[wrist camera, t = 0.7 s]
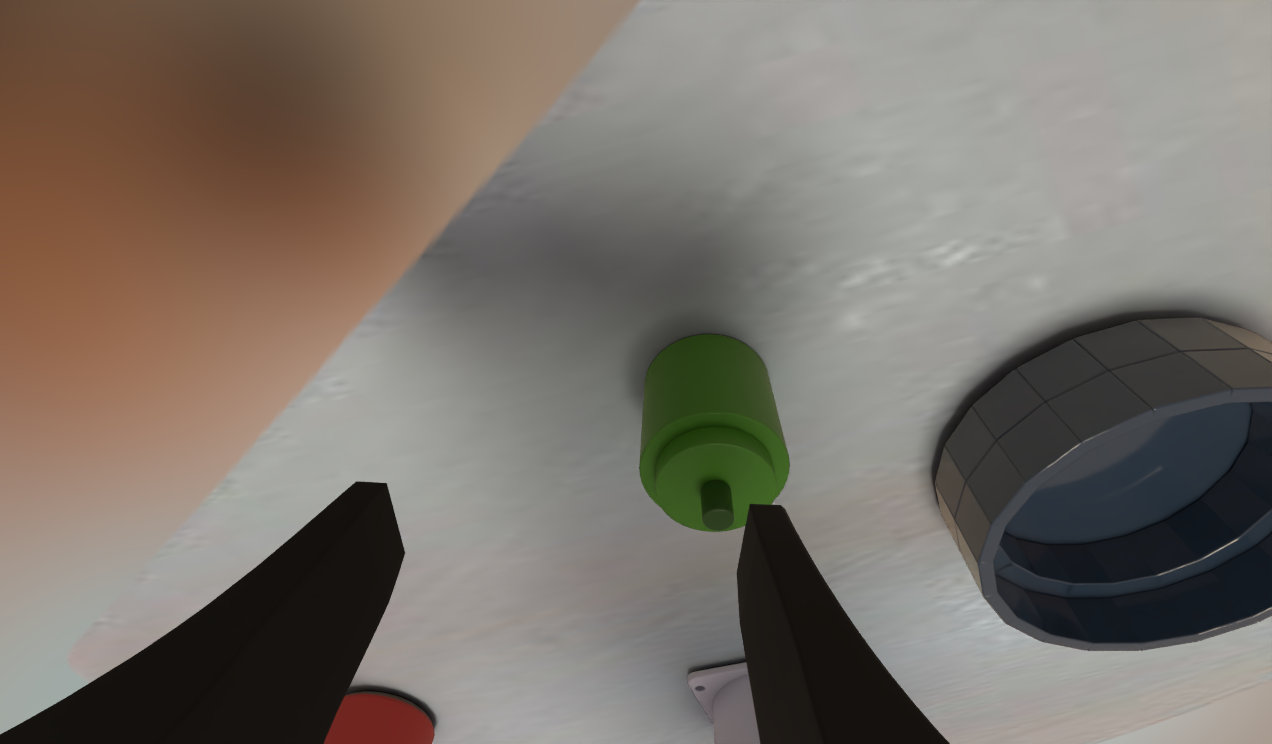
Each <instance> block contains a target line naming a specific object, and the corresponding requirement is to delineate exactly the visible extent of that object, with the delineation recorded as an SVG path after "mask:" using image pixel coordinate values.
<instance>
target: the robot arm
mask: <svg viewBox="0 0 1272 744" xmlns="http://www.w3.org/2000/svg"><path fill="white" fill-rule="evenodd" d="M404 555H405V551H404V547H403V543H402V540H401V536H400V532H399V528H398V524H397V521H396V517H395V513H394V509H393V505H392V502H391V498H390V494H389V490H388V487H387V483H374V482H355V483H354V484H353V485H352V486H351V487H349V488H348V489H347V490H346V491H345V492H344V493H342V494H341V495H340V496H339V497H338V498H337V499H335V500H334V501H333V502H332V503H331V504H330V505H328V506H327V507H326V508H325V509H324V510H323V511H322V512H320V513H319V514H318V515H317V516H316V517H315V518H313V519H312V520H311V521H310V522H309V523H308V524H307V525H305V526H304V527H303V528H302V529H301V530H300V531H298V532H297V533H296V534H295V535H294V536H293V537H291V538H290V539H289V540H288V541H287V542H286V543H284V544H283V545H282V546H281V547H280V548H278V549H277V550H276V551H275V552H274V553H272V554H271V555H270V556H269V557H268V558H266V559H265V560H264V561H263V562H262V563H261V564H259V565H258V566H257V567H256V568H254V569H253V570H252V571H250V572H249V573H248V574H247V575H245V576H244V577H243V578H241V579H240V580H239V581H238V582H236V583H235V584H234V585H232V586H231V587H230V588H229V589H227V590H226V591H225V592H224V593H222V594H221V595H220V596H218V597H217V598H216V599H215V600H213V601H212V602H211V603H209V604H208V605H207V606H205V607H204V608H203V609H201V610H200V611H199V612H197V613H196V614H194V615H193V616H192V617H190V618H189V619H187V620H186V621H185V622H183V623H182V624H180V625H179V626H178V627H176V628H175V629H173V630H172V631H170V632H169V633H167V634H166V635H164V636H163V637H161V638H160V639H158V640H157V641H156V642H154V643H153V644H151V645H150V646H148V647H147V648H145V649H144V650H142V651H141V652H139V653H138V654H136V655H135V656H133V657H131V658H130V659H128V660H127V661H125V662H123V663H122V664H120V665H118V666H117V667H115V668H114V669H112V670H110V671H109V672H107V673H105V674H104V675H102V676H101V677H99V678H97V679H96V680H94V681H92V682H91V683H89V684H88V685H86V686H84V687H83V688H81V689H79V690H78V691H76V692H75V693H73V694H72V695H70V696H68V697H66V698H65V699H63V700H61V701H60V702H58V703H56V704H54V705H53V706H51V707H49V708H47V709H45V710H44V711H42V712H40V713H38V714H37V715H35V716H33V717H31V718H30V719H28V720H26V721H24V722H23V723H21V724H19V725H17V726H15V727H13V728H11V729H10V730H8V731H6V732H4V733H2V734H0V744H324V742H325V739H326V737H327V734H328V732H329V730H330V727H331V725H332V723H333V720H334V718H335V716H336V713H337V711H338V709H339V707H340V705H341V703H342V701H343V699H344V697H345V694H346V692H347V690H348V688H349V686H350V684H351V682H352V680H353V678H354V676H355V673H356V671H357V669H358V667H359V665H360V663H361V661H362V659H363V657H364V655H365V652H366V650H367V648H368V646H369V644H370V642H371V640H372V638H373V636H374V633H375V631H376V629H377V627H378V625H379V623H380V621H381V618H382V616H383V614H384V612H385V610H386V607H387V605H388V603H389V601H390V598H391V595H392V592H393V589H394V586H395V583H396V580H397V577H398V574H399V571H400V568H401V564H402V561H403V558H404ZM737 584H738V602H739V617H740V627H741V633H742V639H743V645H744V651H745V657H746V662H744V663H739V664H734V665H728V666H723V667H717V668H712V669H707V670H701V671H696V672H692V673H690V674H689V675H688V677H687V681H688V685H689V687H690V688H691V690H692V691H693V693H694V694H695V696H696V698H697V699H698V701H699V702H700V704H701V705H702V707H703V709H704V710H705V712H706V713H707V715H708V716H709V718H710V720H711V721H712V723H713V724H714V735H715V744H950V743H949V742H948V741H947V740H946V739H945V738H944V737H943V736H942V735H941V734H940V733H939V732H938V730H937V729H936V728H935V727H934V726H933V725H932V724H931V722H930V721H929V720H928V719H927V718H926V717H925V715H924V714H923V713H922V712H921V711H920V710H919V708H918V707H917V706H916V705H915V704H914V703H913V701H912V700H911V699H910V698H909V697H908V695H907V694H906V693H905V692H904V690H903V689H902V688H901V687H900V686H899V684H898V683H897V682H896V681H895V679H894V678H893V677H892V676H891V674H890V673H889V672H888V671H887V669H886V668H885V667H884V665H883V664H882V663H881V661H880V660H879V659H878V657H877V656H876V655H875V653H874V652H873V651H872V649H871V648H870V647H869V645H868V644H867V643H866V641H865V640H864V638H863V637H862V636H861V634H860V633H859V631H858V630H857V629H856V627H855V626H854V624H853V623H852V621H851V620H850V618H849V617H848V615H847V614H846V613H845V611H844V610H843V608H842V607H841V605H840V603H839V602H838V600H837V599H836V597H835V596H834V594H833V593H832V591H831V589H830V588H829V586H828V585H827V583H826V582H825V580H824V578H823V577H822V575H821V574H820V572H819V570H818V569H817V567H816V565H815V564H814V562H813V560H812V558H811V557H810V555H809V553H808V551H807V550H806V548H805V546H804V544H803V543H802V541H801V539H800V537H799V535H798V534H797V532H796V530H795V528H794V526H793V524H792V522H791V520H790V518H789V516H788V514H787V512H786V510H785V509H784V508H783V507H782V506H781V505H766V504H749V510H748V515H747V521H746V526H745V531H744V537H743V542H742V548H741V553H740V558H739V564H738V569H737Z"/></svg>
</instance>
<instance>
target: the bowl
mask: <svg viewBox="0 0 1272 744" xmlns="http://www.w3.org/2000/svg"><path fill="white" fill-rule="evenodd" d="M935 486H936V491H937V497H938V502H939V507H940V512H941V515H942V517H943V519H944V521H945V523H946V525H947V527H948V529H949V531H950V533H951V535H952V537H953V539H954V541H955V543H956V545H957V547H958V549H959V550H960V552H961V554H962V556H963V558H964V560H965V562H966V564H967V566H968V568H969V570H970V572H971V574H972V576H973V578H974V580H975V582H976V584H977V586H978V588H979V590H980V592H981V594H982V596H983V597H984V599H985V600H986V601H987V602H988V603H989V605H990V606H991V607H992V608H993V609H994V611H995V612H996V613H997V614H998V616H999V617H1000V618H1001V619H1002V620H1003V622H1004V623H1006V624H1007V625H1009V626H1011V627H1013V628H1015V629H1017V630H1019V631H1021V632H1023V633H1025V634H1027V635H1029V636H1031V637H1033V638H1035V639H1037V640H1039V641H1042V642H1045V643H1050V644H1055V645H1060V646H1065V647H1070V648H1075V649H1080V650H1087V651H1139V650H1141V651H1143V650H1149V649H1155V648H1161V647H1167V646H1173V645H1179V644H1186V643H1192V642H1197V641H1198V640H1199V641H1201V640H1204V639H1207V638H1210V637H1214V636H1217V635H1220V634H1223V633H1226V632H1229V631H1233V630H1236V629H1239V628H1242V627H1245V626H1248V625H1252V624H1255V623H1257V621H1258V622H1260V621H1262V620H1264V619H1266V618H1268V617H1270V616H1272V343H1271V342H1270V341H1268V340H1266V339H1265V338H1263V337H1261V336H1260V335H1258V334H1256V333H1255V332H1252V331H1250V330H1246V329H1242V328H1239V327H1235V326H1231V325H1227V324H1223V323H1219V322H1215V321H1212V320H1208V319H1204V318H1199V317H1192V318H1169V319H1146V320H1137V321H1132V322H1128V323H1125V324H1121V325H1118V326H1114V327H1111V328H1107V329H1103V330H1100V331H1096V332H1093V333H1089V334H1086V335H1082V336H1079V337H1075V338H1074V339H1073V340H1072V339H1071V340H1068V341H1066V342H1065V343H1063V344H1061V345H1059V346H1057V347H1055V348H1053V349H1051V350H1049V351H1047V352H1045V353H1044V354H1042V355H1040V356H1038V357H1036V358H1034V359H1032V360H1030V361H1028V362H1026V363H1025V364H1023V365H1021V366H1019V367H1017V370H1016V369H1014V370H1013V371H1011V372H1010V373H1009V374H1008V375H1007V376H1005V377H1004V378H1003V379H1002V380H1001V381H1000V382H998V383H997V384H996V385H995V386H994V387H993V388H991V389H990V390H989V391H988V392H987V393H985V394H984V395H983V396H982V397H981V398H980V399H978V400H977V401H976V402H975V403H974V404H973V406H971V407H970V409H969V410H968V411H967V413H966V414H965V416H964V417H963V419H962V420H961V422H960V423H959V425H958V426H957V427H956V429H955V430H954V432H953V433H952V435H951V436H950V438H949V439H948V441H947V442H946V445H945V446H944V449H943V453H942V457H941V460H940V464H939V468H938V472H937V476H936V480H935Z"/></svg>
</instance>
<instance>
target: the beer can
mask: <svg viewBox="0 0 1272 744" xmlns="http://www.w3.org/2000/svg"><path fill="white" fill-rule="evenodd" d="M434 735H435V734H434V728H433V725H432V722H431V719H430V718H429V717H428V716H427V714H426V713H425V712H424V711H423V710H422V709H421V708H420V707H418V706H417V705H415V704H414V703H412V702H411V701H408V700H406V699H403V698H401V697H399V696H396V695H392V694H387V693H383V692H372V691H363V692H355V693H350V694H347V695H345V697H344V699H343V701H342V703H341V705H340V707H339V709H338V711H337V713H336V716H335V718H334V720H333V723H332V725H331V727H330V730H329V732H328V734H327V737H326V739H325V742H324V744H432V742H433V738H434Z"/></svg>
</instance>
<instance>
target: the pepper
mask: <svg viewBox="0 0 1272 744" xmlns="http://www.w3.org/2000/svg"><path fill="white" fill-rule="evenodd" d="M789 467H790V463H789V456H788V452H787V448H786V444H785V440H784V436H783V432H782V428H781V424H780V420H779V416H778V412H777V408H776V404H775V400H774V396H773V392H772V388H771V384H770V380H769V376H768V372H767V369H766V367H765V365H764V363H763V361H762V360H761V358H760V357H759V356H758V355H757V353H756V352H755V351H753V350H752V349H751V348H750V347H749V346H747V345H745V344H744V343H742V342H740V341H738V340H736V339H733V338H730V337H727V336H722V335H714V334H703V335H695V336H691V337H687V338H684V339H681V340H679V341H677V342H675V343H673V344H671V345H670V346H668V347H667V348H665V349H664V350H663V351H662V352H661V353H660V354H659V355H658V356H657V357H656V358H655V359H654V361H653V362H652V364H651V365H650V367H649V369H648V372H647V374H646V378H645V386H644V401H643V417H642V434H641V450H640V466H639V469H640V477H641V481H642V484H643V486H644V488H645V490H646V492H647V493H648V495H649V496H650V497H651V499H652V500H653V501H654V502H655V503H656V504H657V505H659V506H660V507H661V508H662V509H663V510H664V512H665V513H666V514H667V515H668V516H669V517H671V518H672V519H673V520H675V521H676V522H678V523H680V524H682V525H684V526H686V527H689V528H692V529H696V530H701V531H709V532H720V531H728V530H733V529H737V528H740V527H743V526H745V525H746V521H747V515H748V510H749V504H766V505H771V504H772V502H773V501H774V500H775V498H776V497H777V496H778V495H779V494H780V492H781V491H782V489H783V488H784V485H785V483H786V481H787V478H788V474H789Z"/></svg>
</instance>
